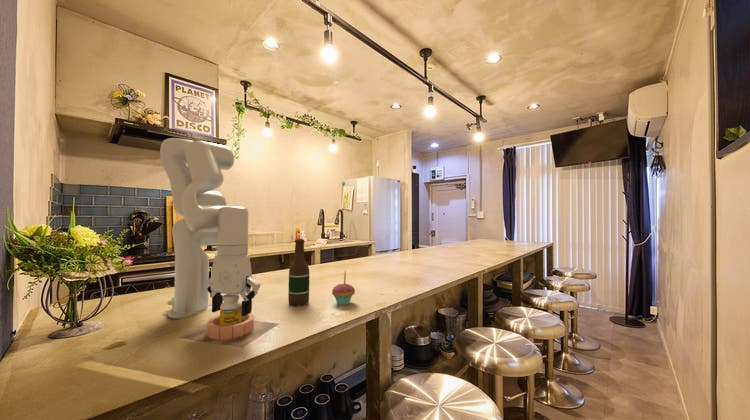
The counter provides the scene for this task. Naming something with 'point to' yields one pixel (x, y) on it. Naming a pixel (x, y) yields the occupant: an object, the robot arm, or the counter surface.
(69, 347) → the counter surface
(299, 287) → the beer bottle
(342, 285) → the cupcake
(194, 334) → the grey flat pad
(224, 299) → the supplement bottle
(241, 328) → the terracotta holder
